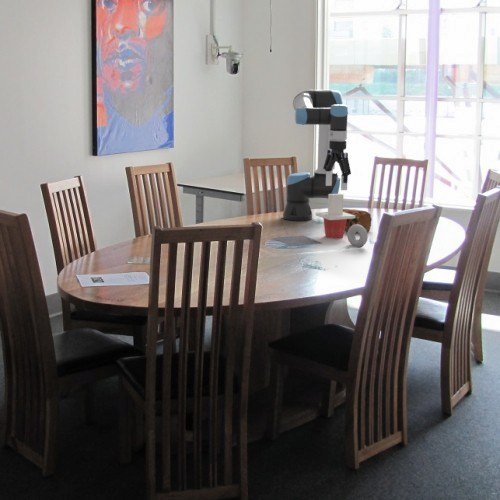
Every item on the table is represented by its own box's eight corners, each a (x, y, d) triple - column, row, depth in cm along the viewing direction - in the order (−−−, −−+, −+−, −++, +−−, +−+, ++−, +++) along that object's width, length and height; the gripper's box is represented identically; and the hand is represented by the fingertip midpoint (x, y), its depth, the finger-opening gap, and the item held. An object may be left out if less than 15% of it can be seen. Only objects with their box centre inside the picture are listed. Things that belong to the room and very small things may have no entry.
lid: (315, 215, 367) (316, 193, 365) (340, 213, 373) (340, 191, 371) (329, 220, 356) (330, 197, 354) (355, 218, 361) (356, 195, 359)
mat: (272, 239, 361) (272, 237, 361) (303, 236, 368) (303, 235, 368) (290, 247, 345) (290, 245, 345) (323, 244, 352) (323, 243, 352)
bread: (371, 231, 383) (372, 210, 381) (355, 234, 376) (356, 213, 374) (343, 225, 397) (344, 205, 395) (327, 227, 390) (328, 207, 388)
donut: (345, 246, 349) (345, 223, 347) (349, 244, 352) (350, 222, 350) (364, 249, 343) (365, 226, 341) (368, 248, 345) (369, 225, 343)
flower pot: (346, 235, 371) (346, 215, 369) (346, 240, 361) (347, 219, 358) (322, 235, 372) (323, 214, 370) (322, 239, 362) (323, 218, 359)
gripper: (316, 137, 366) (315, 184, 371) (345, 143, 344) (343, 192, 349) (331, 137, 369) (329, 183, 374) (360, 142, 347) (358, 191, 352)
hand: (336, 187), depth 362 cm, fingers open, 13 cm apart
